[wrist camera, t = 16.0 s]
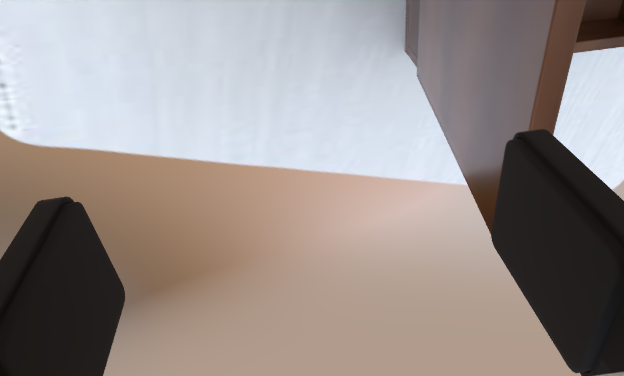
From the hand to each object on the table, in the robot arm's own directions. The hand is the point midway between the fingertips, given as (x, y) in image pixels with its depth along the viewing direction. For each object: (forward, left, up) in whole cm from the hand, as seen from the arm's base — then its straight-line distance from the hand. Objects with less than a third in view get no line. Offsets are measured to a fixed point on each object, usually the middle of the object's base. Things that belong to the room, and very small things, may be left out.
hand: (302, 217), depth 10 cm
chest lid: (-8, +4, -12) cm, 15 cm away
